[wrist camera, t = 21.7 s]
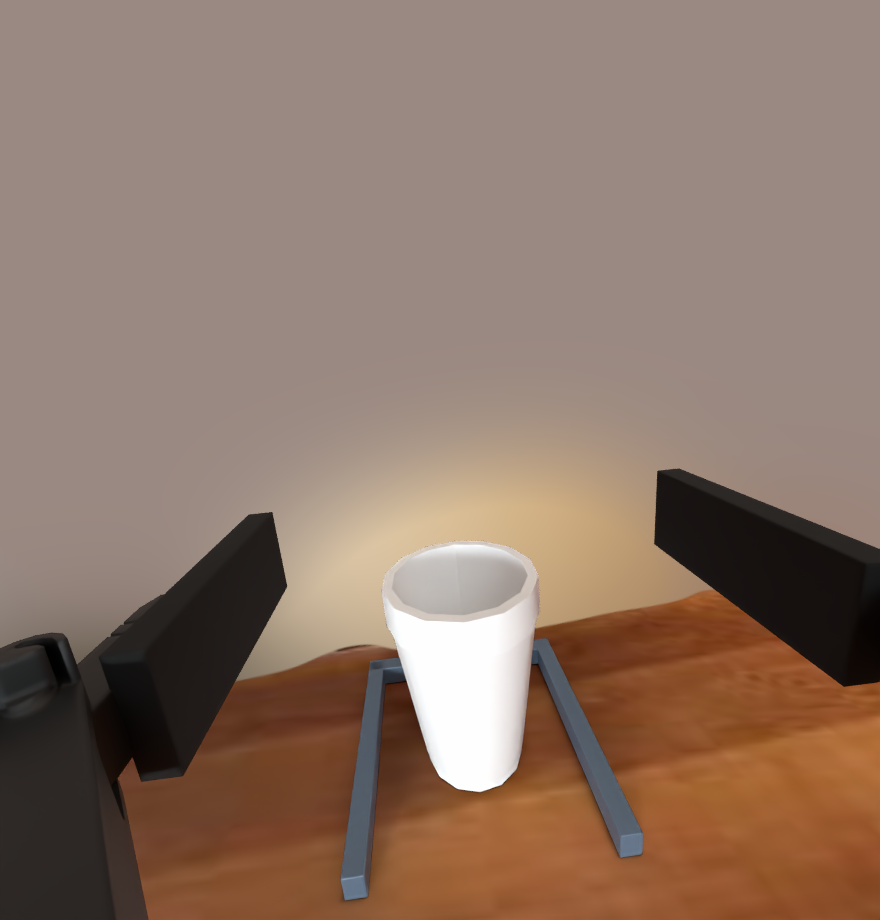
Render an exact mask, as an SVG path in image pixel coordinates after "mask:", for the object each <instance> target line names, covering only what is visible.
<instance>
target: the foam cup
mask: <svg viewBox="0 0 880 920" xmlns="http://www.w3.org/2000/svg"><path fill="white" fill-rule="evenodd" d="M382 597H383V605H384V611H385V618H386V625H387V627H388V629H389V630H390V632H391V634H392V635H393V637H394V640H395V644H396V647H397V651H398V654H399V657H400V661H401V664H402V667H403V671H404V674H405V677H406V681H407V684H408V687H409V691H410V694H411V697H412V701H413V704H414V707H415V711H416V714H417V717H418V721H419V724H420V728H421V731H422V734H423V738H424V741H425V744H426V748H427V751H428V753H429V755H430V759H431V761H432V763H433V765H434V767H435V769H436V771H437V773H438V775H439V777H441V778H442V779H444V780H445V781H447V782H448V783H450V784H451V785H453V786H454V787H455V788H457V789H462V790H469V791H476V792H482V791H485V790H488V789H491V788H493V787H496V786H499V785H502V784H503V783H504V782H505V781H506V780H507V779H508V778H509V777H510V776H511V774H512V773H513V772H514V771H515V770H516V769H517V766H518V762H519V758H520V755H521V751H522V744H523V736H524V727H525V717H526V708H527V698H528V688H529V679H530V669H531V660H532V650H533V640H534V631H535V624H536V621H537V617H538V615H539V612H540V600H539V579H538V574H537V572H536V570H535V568H534V566H533V564H532V562H531V560H530V559H529V558H528V557H526V556H524V555H523V554H521V553H519V552H518V551H516V550H514V549H513V548H511V547H508V546H503V545H499V544H495V543H490V542H486V541H452V542H447V543H442V544H437V545H432V546H427V547H424V548H422V549H420V550H418V551H416V552H413V553H411V554H409V555H406V556H404V557H402V558H401V559H400V560H399V561H398V562H397V563H396V564H394V565H393V566H392V567H391V568H390V569H389V570H388V571H387V572H386V573H385V578H384V582H383V587H382Z"/></svg>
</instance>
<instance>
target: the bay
mask: <svg viewBox="0 0 880 920" xmlns="http://www.w3.org/2000/svg"><path fill="white" fill-rule="evenodd" d="M531 664H539V667H540V669H541V671H542V674H543V676H544V678H545V681H546V683H547V686H548V688H549V690H550V693H551V695H552V697H553V700H554V702H555V704H556V707H557V709H558V712H559V714H560V716H561V719H562V721H563V723H564V726H565V728H566V731H567V733H568V735H569V738H570V740H571V742H572V745H573V747H574V749H575V752H576V754H577V757H578V759H579V761H580V764H581V766H582V768H583V771H584V773H585V775H586V778H587V780H588V783H589V785H590V787H591V790H592V792H593V794H594V797H595V799H596V802H597V804H598V806H599V809H600V811H601V813H602V816H603V818H604V820H605V823H606V825H607V828H608V830H609V832H610V835H611V837H612V839H613V842H614V844H615V846H616V849H617V851H618V854H619V856H620V858H622V857H629V856H635V855H641V854H642V847H643V832H642V830H641V828H640V826H639V824H638V822H637V820H636V818H635V816H634V814H633V812H632V810H631V808H630V806H629V804H628V802H627V800H626V798H625V796H624V794H623V792H622V790H621V788H620V786H619V784H618V782H617V780H616V777H615V775H614V773H613V771H612V769H611V767H610V765H609V763H608V761H607V759H606V757H605V755H604V753H603V751H602V749H601V747H600V745H599V743H598V741H597V739H596V737H595V735H594V733H593V731H592V729H591V727H590V725H589V723H588V721H587V719H586V717H585V715H584V713H583V711H582V709H581V706H580V704H579V702H578V700H577V698H576V696H575V694H574V692H573V690H572V688H571V686H570V684H569V682H568V680H567V678H566V676H565V674H564V672H563V670H562V668H561V666H560V664H559V662H558V660H557V658H556V656H555V654H554V652H553V650H552V648H551V646H550V644H549V642H548V640H547V638H545V639H537V640H533V650H532V660H531ZM402 681H406V677H405V674H404V671H403V667H402V664H401V661H400V657H399V658H391V659H383V660H376V661H371V662H370V668H369V675H368V683H367V690H366V697H365V704H364V712H363V719H362V726H361V733H360V741H359V748H358V755H357V762H356V770H355V777H354V784H353V792H352V799H351V806H350V813H349V821H348V828H347V835H346V842H345V850H344V857H343V864H342V872H341V884H342V889H343V893H344V898H345V900H351V899H357V898H364V897H368V894H369V882H370V869H371V857H372V844H373V832H374V820H375V807H376V795H377V783H378V770H379V758H380V745H381V733H382V721H383V708H384V696H385V684H387V683H395V682H402Z"/></svg>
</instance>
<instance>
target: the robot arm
mask: <svg viewBox="0 0 880 920" xmlns="http://www.w3.org/2000/svg"><path fill="white" fill-rule="evenodd" d="M654 544H655V545H656V546H658V547H659V548H660V549H661V550H663V551H664V552H666V553H667V554H668V555H670V556H671V557H672V558H673V559H675V560H676V561H677V562H679V563H680V564H681V565H683V566H684V567H686V568H687V569H688V570H689V571H691V572H692V573H693V574H695V575H696V576H697V577H699V578H700V579H701V580H703V581H704V582H705V583H707V584H708V585H709V586H711V587H712V588H713V589H715V590H716V591H717V592H719V593H720V594H721V595H723V596H724V597H725V598H727V599H728V600H729V601H731V602H732V603H733V604H735V605H736V606H737V607H739V608H740V609H741V610H743V611H744V612H745V613H747V614H748V615H749V616H751V617H752V618H753V619H755V620H756V621H757V622H759V623H760V624H761V625H763V626H764V627H765V628H767V629H768V630H769V631H771V632H772V633H773V634H774V635H776V636H777V637H778V638H780V639H781V640H782V641H784V642H785V643H786V644H788V645H789V646H790V647H792V648H793V649H794V650H796V651H797V652H798V653H800V654H801V655H802V656H804V657H805V658H806V659H808V660H809V661H810V662H812V663H813V664H814V665H816V666H817V667H818V668H820V669H821V670H822V671H824V672H825V673H826V674H828V675H829V676H830V677H832V678H833V679H834V680H836V681H837V682H838V683H840V684H841V685H842V686H844V687H846V686H853V685H861V684H868V683H876V682H880V549H878V548H875V547H873V546H871V545H868V544H866V543H863V542H861V541H858V540H856V539H853V538H850V537H848V536H845V535H843V534H841V533H838V532H836V531H833V530H831V529H828V528H826V527H823V526H821V525H818V524H816V523H813V522H811V521H808V520H806V519H803V518H801V517H798V516H796V515H793V514H791V513H788V512H786V511H783V510H781V509H778V508H776V507H773V506H771V505H768V504H766V503H763V502H761V501H758V500H756V499H753V498H751V497H748V496H746V495H743V494H741V493H738V492H736V491H734V490H731V489H729V488H726V487H724V486H721V485H718V484H716V483H713V482H711V481H708V480H706V479H704V478H701V477H699V476H696V475H694V474H691V473H689V472H686V471H684V470H681V469H670V470H661V471H657V492H656V516H655V540H654ZM286 588H287V583H286V578H285V573H284V568H283V563H282V558H281V553H280V548H279V543H278V538H277V534H276V529H275V523H274V518H273V513H272V512H269V513H260V514H250V515H248V516H247V517H246V518H245V519H244V520H243V521H242V522H240V523H239V524H238V525H237V526H236V527H235V528H234V529H233V530H232V531H231V532H230V533H229V534H228V535H227V536H226V537H225V538H224V539H222V540H221V541H220V542H219V543H218V544H217V545H216V546H215V547H214V548H213V549H212V550H211V551H210V552H209V553H208V554H207V555H206V556H205V557H203V558H202V559H201V560H200V561H199V562H198V563H197V564H196V565H195V566H194V567H193V568H192V569H191V570H190V571H189V572H188V573H186V574H185V576H183V577H182V578H181V579H180V580H179V581H178V582H177V583H176V584H175V585H174V586H173V587H172V588H171V589H170V590H168V591H167V592H166V594H164V595H160V596H159V597H157V598H155V599H154V600H152V601H150V602H149V603H147V604H145V605H144V606H142V607H140V608H139V609H138V610H137V611H136V612H135V613H133V614H132V615H131V616H130V617H129V618H128V619H127V620H126V621H125V622H124V625H120V626H119V627H118V628H117V629H116V630H115V631H114V632H113V633H111V637H107V638H106V639H105V640H104V641H103V642H102V643H101V644H99V645H98V646H97V647H96V648H95V649H94V650H93V651H92V652H91V653H89V654H88V655H87V656H86V657H85V658H84V659H83V660H82V661H81V662H80V663H78V664H76V661H75V658H74V656H73V653H72V651H71V648H70V645H69V642H68V639H67V638H66V637H65V635H64V634H61V633H48V634H42V635H35V636H33V637H29V638H26V639H23V640H20V641H17V642H14V643H12V644H9V645H7V646H5V647H2V648H0V920H148V915H147V910H146V905H145V900H144V895H143V890H142V885H141V880H140V875H139V870H138V865H137V860H136V855H135V850H134V845H133V841H132V836H131V831H130V826H129V821H128V816H127V811H126V806H125V801H124V796H123V792H122V789H121V786H120V783H119V781H118V777H119V775H120V774H121V772H122V771H123V770H124V768H125V767H126V765H127V764H128V763H129V761H130V760H131V758H132V757H133V759H134V762H135V765H136V768H137V771H138V774H139V777H140V779H141V782H143V781H150V780H157V779H165V778H172V777H180V776H183V775H184V773H185V772H186V770H187V768H188V766H189V764H190V762H191V761H192V759H193V757H194V755H195V753H196V752H197V750H198V748H199V746H200V744H201V742H202V741H203V739H204V737H205V735H206V733H207V732H208V730H209V728H210V726H211V724H212V722H213V721H214V719H215V717H216V715H217V713H218V712H219V710H220V708H221V706H222V704H223V702H224V701H225V699H226V697H227V695H228V693H229V692H230V690H231V688H232V686H233V684H234V682H235V681H236V679H237V677H238V675H239V673H240V672H241V670H242V668H243V666H244V664H245V662H246V661H247V659H248V657H249V655H250V653H251V652H252V650H253V648H254V646H255V644H256V642H257V641H258V639H259V637H260V635H261V633H262V632H263V630H264V628H265V626H266V624H267V622H268V621H269V619H270V617H271V615H272V613H273V611H274V610H275V608H276V606H277V604H278V602H279V601H280V599H281V597H282V595H283V593H284V592H285V590H286Z"/></svg>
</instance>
